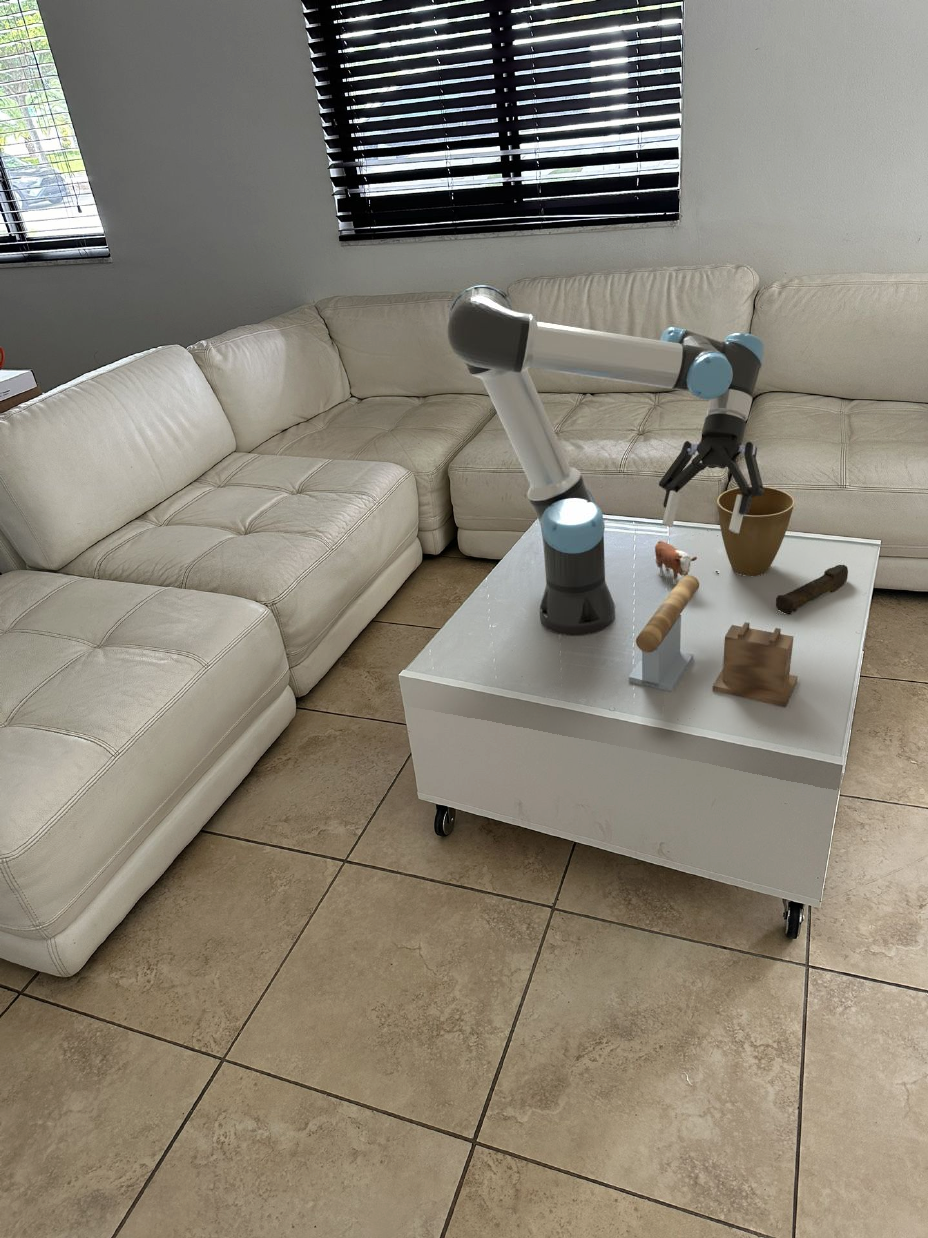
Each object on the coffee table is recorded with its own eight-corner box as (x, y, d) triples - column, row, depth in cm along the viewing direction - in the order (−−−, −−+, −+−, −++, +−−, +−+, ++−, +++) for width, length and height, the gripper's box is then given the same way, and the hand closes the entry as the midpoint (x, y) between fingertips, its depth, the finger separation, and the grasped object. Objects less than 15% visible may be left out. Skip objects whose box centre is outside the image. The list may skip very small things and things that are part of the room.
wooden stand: (712, 690, 139) (715, 636, 133) (726, 665, 144) (729, 613, 139) (785, 707, 133) (791, 651, 127) (797, 681, 138) (803, 626, 133)
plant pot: (699, 565, 177) (702, 497, 169) (754, 547, 181) (759, 480, 173) (745, 593, 165) (750, 521, 157) (803, 572, 169) (811, 502, 161)
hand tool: (790, 618, 155) (792, 597, 153) (773, 610, 159) (775, 589, 156) (857, 587, 162) (861, 566, 160) (841, 580, 166) (843, 560, 163)
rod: (656, 654, 135) (656, 636, 133) (635, 650, 137) (635, 632, 135) (699, 593, 150) (699, 576, 149) (680, 590, 152) (680, 573, 150)
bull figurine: (681, 596, 167) (682, 561, 163) (650, 569, 178) (650, 536, 174) (700, 591, 167) (702, 556, 163) (668, 565, 179) (669, 531, 175)
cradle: (628, 681, 144) (628, 639, 139) (651, 649, 151) (651, 609, 147) (672, 691, 140) (673, 649, 135) (693, 658, 147) (694, 617, 143)
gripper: (799, 425, 146) (772, 539, 145) (676, 426, 163) (651, 528, 162) (784, 410, 140) (755, 528, 140) (658, 412, 157) (632, 517, 157)
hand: (699, 528), depth 151 cm, fingers open, 13 cm apart
